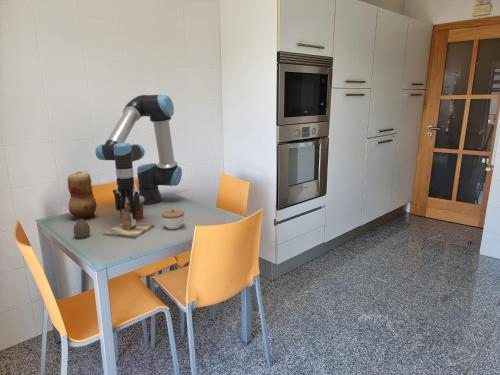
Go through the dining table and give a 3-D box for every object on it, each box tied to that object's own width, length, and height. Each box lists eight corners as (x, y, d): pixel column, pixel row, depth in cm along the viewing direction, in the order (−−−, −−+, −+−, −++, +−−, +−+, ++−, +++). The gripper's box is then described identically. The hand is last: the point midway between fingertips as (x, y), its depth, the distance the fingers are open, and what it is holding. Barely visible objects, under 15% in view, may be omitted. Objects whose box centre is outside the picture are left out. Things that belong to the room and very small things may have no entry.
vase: (86, 233, 169) (84, 215, 167) (93, 237, 165) (91, 218, 163) (71, 237, 164) (69, 219, 162) (78, 241, 160) (76, 222, 158)
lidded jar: (182, 231, 171) (181, 213, 169) (160, 231, 171) (158, 213, 169) (186, 224, 182) (185, 206, 179) (165, 224, 182) (164, 206, 180)
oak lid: (125, 223, 182) (123, 202, 179) (153, 226, 177) (152, 204, 175) (104, 234, 167) (102, 211, 164) (134, 237, 162) (132, 214, 160)
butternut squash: (65, 222, 186) (59, 174, 180) (76, 214, 199) (71, 169, 193) (92, 221, 186) (87, 174, 180) (102, 213, 199) (97, 169, 193)
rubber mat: (125, 223, 183) (125, 222, 183) (156, 226, 178) (156, 226, 178) (101, 235, 166) (101, 235, 166) (135, 239, 161) (135, 239, 161)
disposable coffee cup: (123, 220, 187) (121, 198, 184) (136, 215, 195) (134, 194, 192) (136, 223, 183) (134, 200, 180) (149, 218, 191) (148, 196, 188)
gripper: (104, 177, 165) (109, 225, 170) (136, 179, 160) (140, 229, 166) (114, 174, 172) (119, 220, 177) (145, 176, 167) (149, 224, 173)
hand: (129, 224), depth 172 cm, fingers closed on oak lid, 4 cm apart
